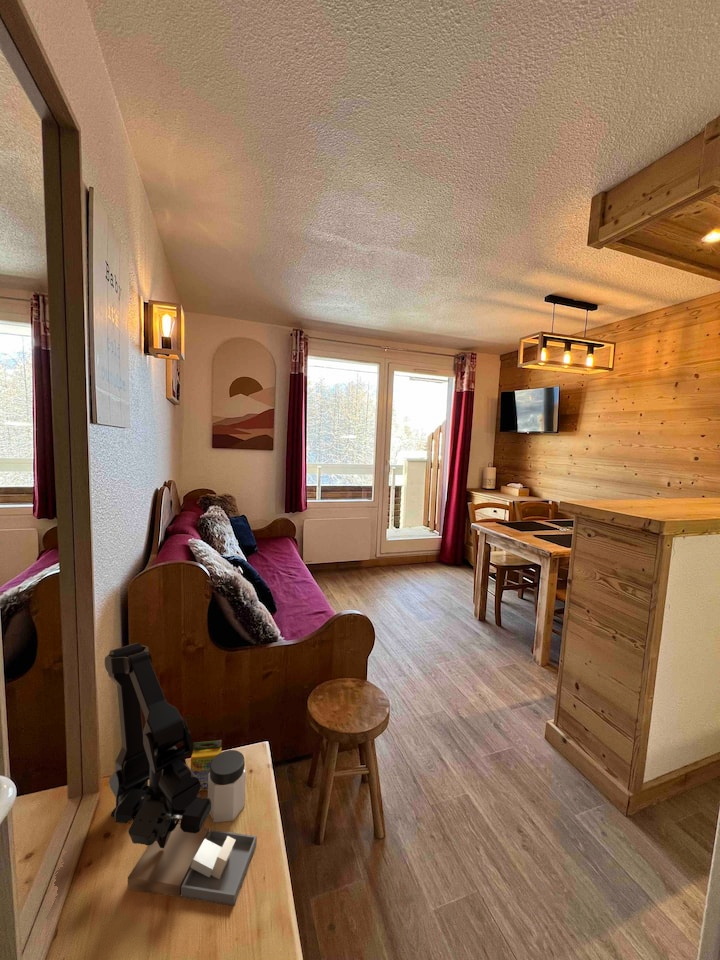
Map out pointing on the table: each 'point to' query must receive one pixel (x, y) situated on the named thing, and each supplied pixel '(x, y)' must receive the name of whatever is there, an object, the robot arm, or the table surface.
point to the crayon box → (204, 760)
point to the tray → (232, 875)
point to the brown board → (167, 863)
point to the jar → (226, 785)
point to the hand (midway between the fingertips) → (163, 846)
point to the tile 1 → (206, 858)
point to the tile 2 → (223, 857)
